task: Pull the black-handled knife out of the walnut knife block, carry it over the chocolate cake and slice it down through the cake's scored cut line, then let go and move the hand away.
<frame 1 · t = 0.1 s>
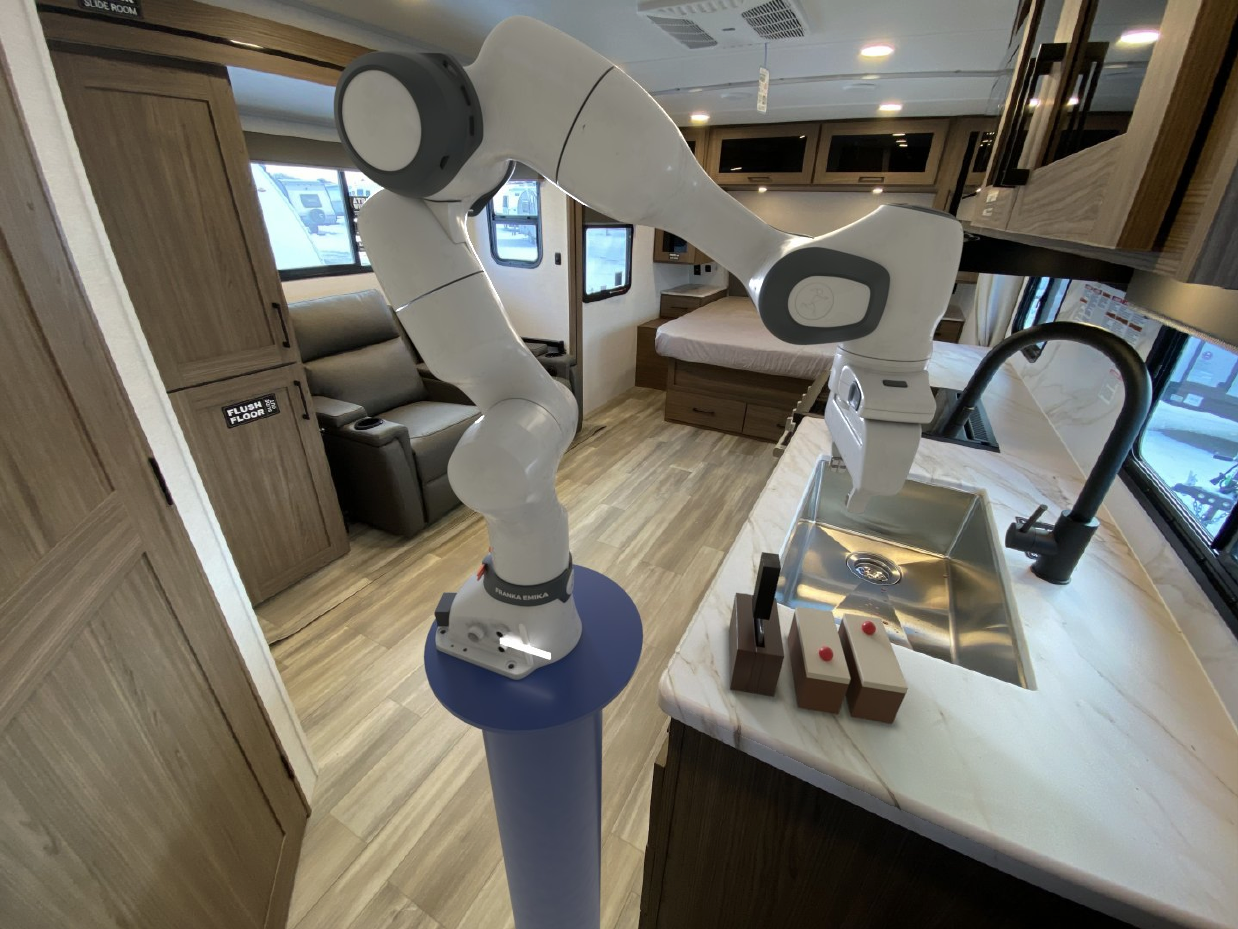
hand: (844, 488, 59), 30 cm above the worktop, tool pointing down, fingers open, 8 cm apart
knife: (759, 614, 68), in the knife block
cake: (835, 678, 71), on the worktop
vase: (843, 435, 147), on the worktop
knife block: (749, 661, 73), on the worktop
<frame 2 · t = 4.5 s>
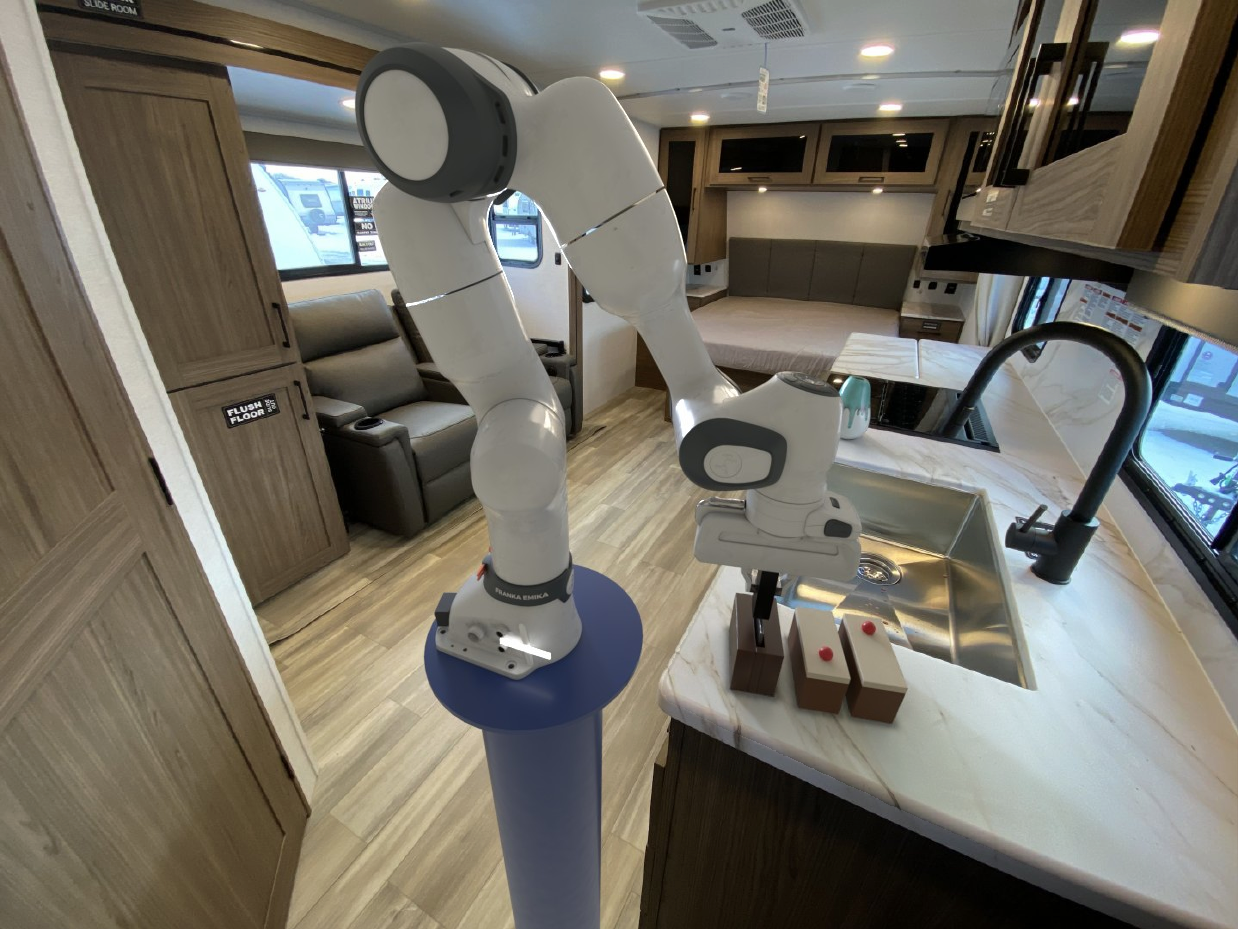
hand: (764, 591, 66), 14 cm above the worktop, tool pointing down, fingers closed on knife, 2 cm apart
knife: (759, 614, 68), in the knife block, touching gripper
everything else where it was.
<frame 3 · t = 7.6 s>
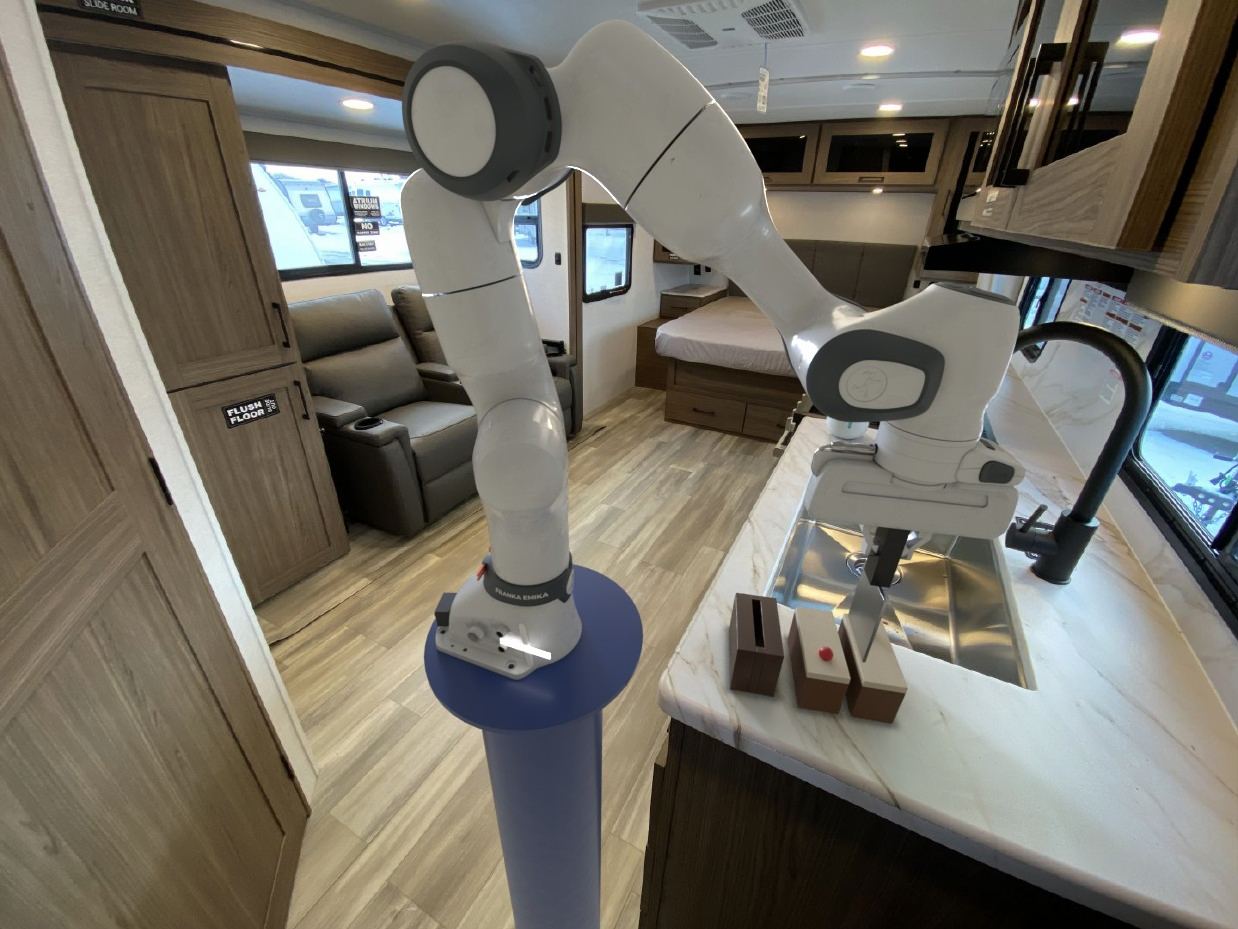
hand: (884, 554, 58), 24 cm above the worktop, tool pointing down, fingers closed on knife, 2 cm apart
knife: (875, 581, 60), point 20 cm above the worktop, touching gripper
everything else where it was.
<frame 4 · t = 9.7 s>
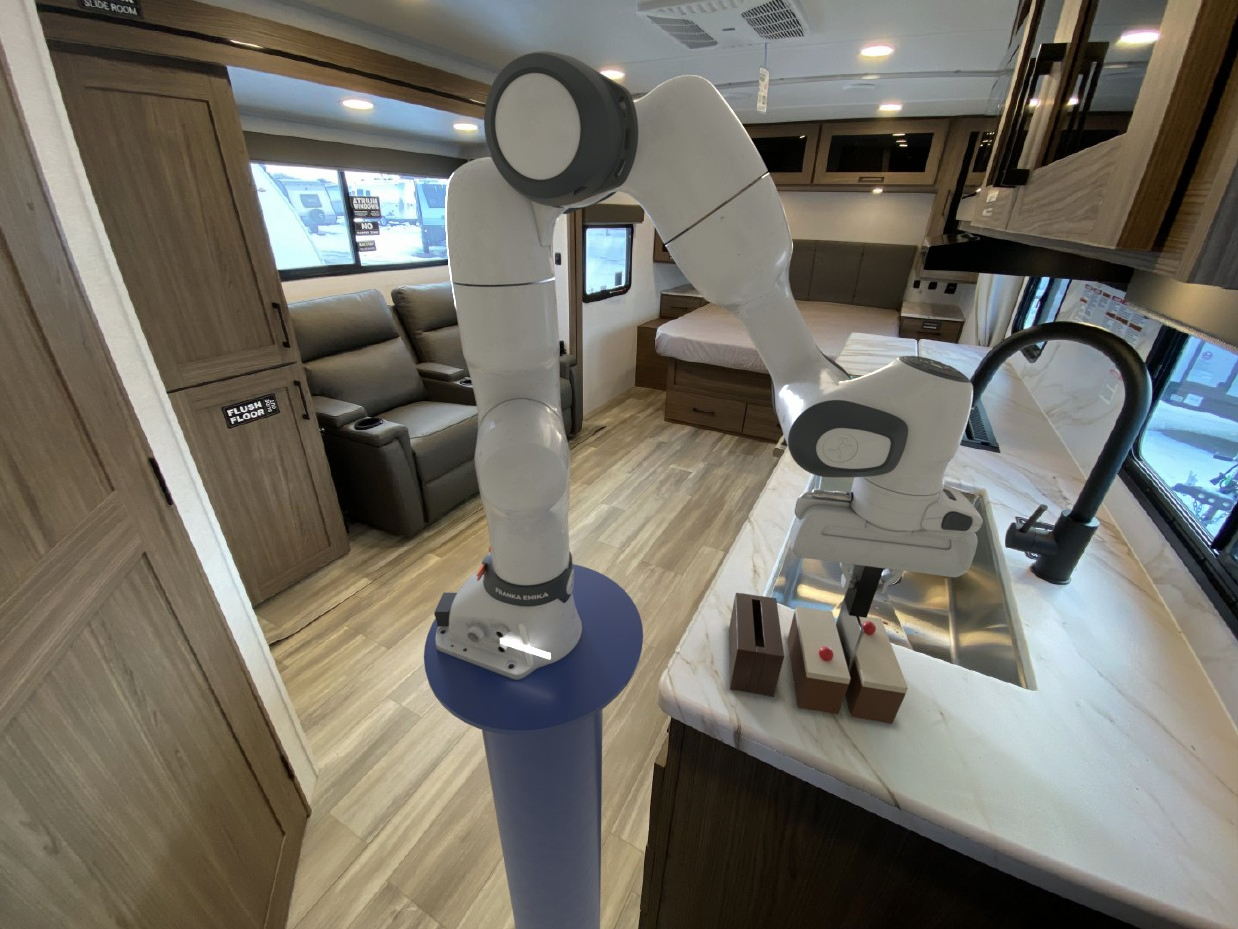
hand: (862, 588, 64), 16 cm above the worktop, tool pointing down, fingers closed on knife, 2 cm apart
knife: (854, 611, 66), point 12 cm above the worktop, touching gripper
everything else where it was.
when the fingers open (14 cm above the worktop, at t = 11.0 s): knife stays where it is, resting in cake.
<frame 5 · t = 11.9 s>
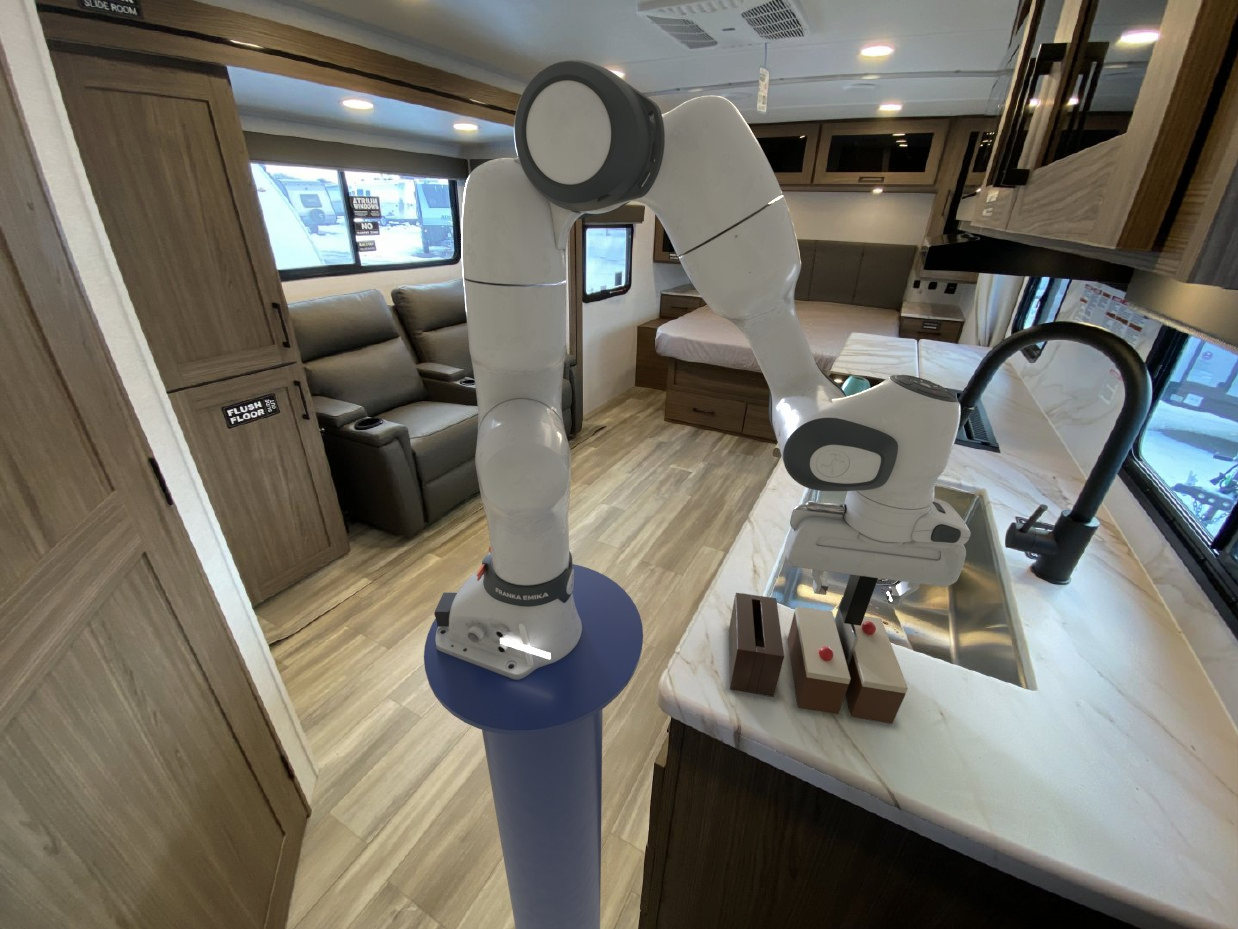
hand: (855, 596, 66), 14 cm above the worktop, tool pointing down, fingers open, 8 cm apart
knife: (848, 619, 68), resting in cake
everything else where it was.
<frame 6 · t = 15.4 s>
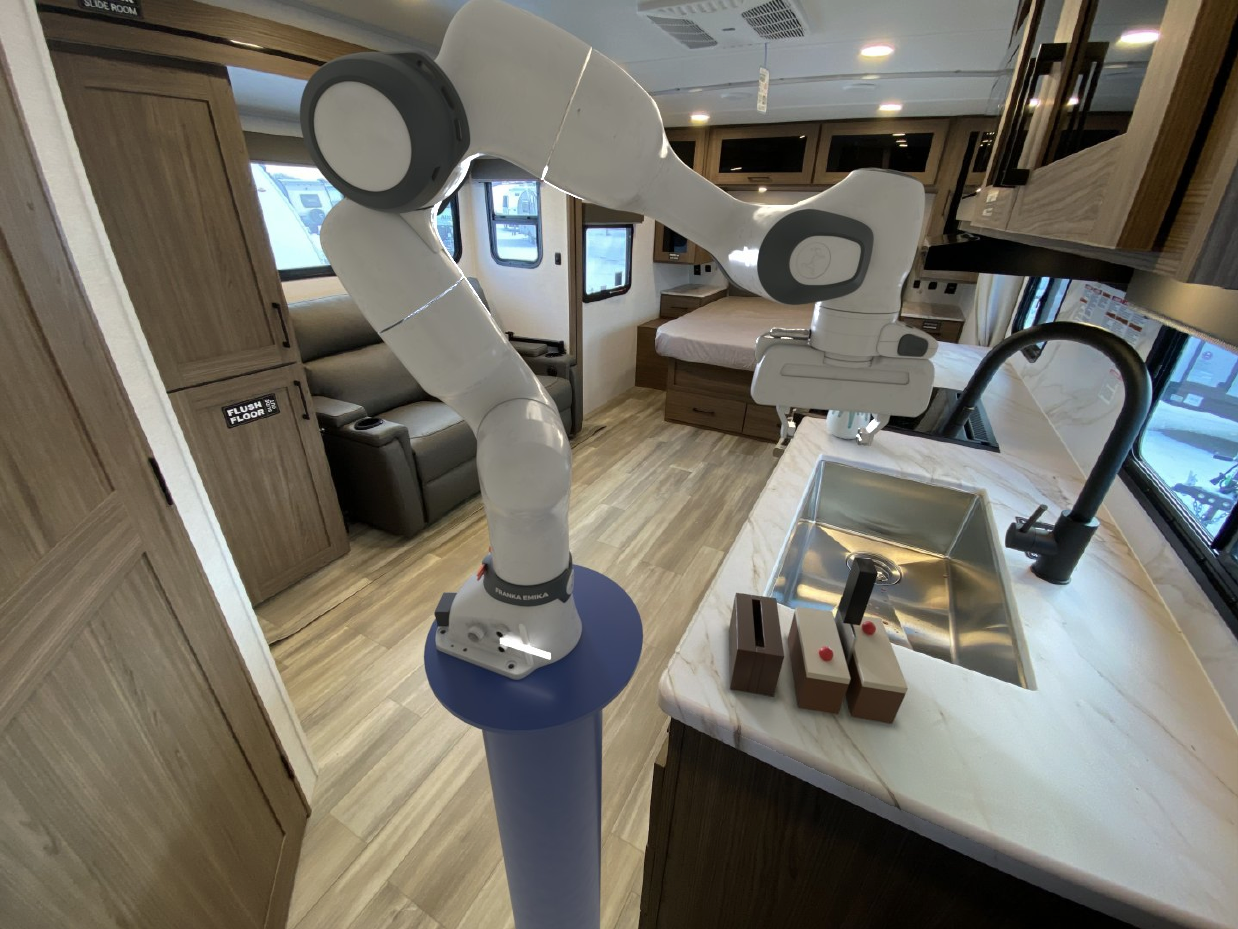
hand: (824, 440, 64), 33 cm above the worktop, tool pointing down, fingers open, 8 cm apart
nothing on the worktop moved.
at the end: knife 1.8 cm off-centre on the cake, point 9.5 cm above the cake's base; knife tilted 0°; the gripper is holding nothing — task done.
